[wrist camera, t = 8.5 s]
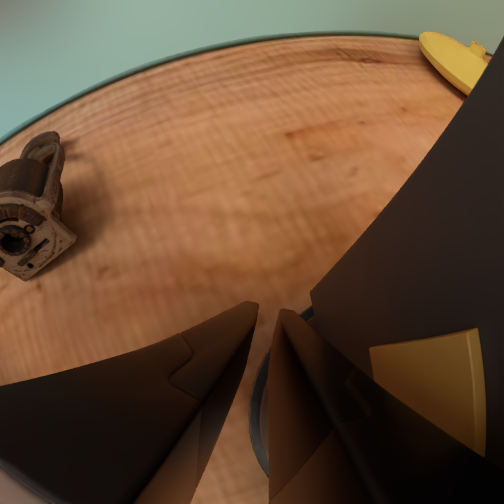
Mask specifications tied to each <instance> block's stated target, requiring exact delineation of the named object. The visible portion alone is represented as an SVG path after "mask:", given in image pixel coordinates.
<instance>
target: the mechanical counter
mask: <svg viewBox="0 0 504 504" xmlns="http://www.w3.org/2000/svg"><path fill="white" fill-rule="evenodd" d="M59 140H60V137H59V134H58V133H57V132H55V131H48V132H45V133H42V134H39V135H38V136H36V137H34V138H33V139H32V140H31V141H30V142H29V143H28V144H27V145H26V146H25V148H24V150H23V151H22V154H21V156H20V159H15V160H12V161H9V162H7V163H5V164H4V165H2V166H1V167H0V267H2V268H4V269H5V270H7V271H8V272H10V273H12V274H13V275H15V276H17V277H18V278H20V279H22V280H23V281H27V280H28V279H30V278H31V277H32V276H33V275H34V274H36V273H37V272H38V271H39V270H40V269H42V268H43V267H44V266H45V265H47V264H48V263H49V262H50V261H52V260H53V259H54V258H55V257H57V256H58V255H59V254H61V253H62V252H63V251H64V250H66V249H67V248H68V247H69V246H71V245H72V244H73V243H74V242H75V240H76V238H77V237H76V234H75V233H74V232H72V231H70V230H69V229H68V228H67V227H66V226H65V225H64V224H63V223H62V222H60V217H61V210H62V203H63V189H62V185H61V182H60V178H61V173H62V170H63V166H64V161H65V154H64V150H63V148H62V147H61V146H60V145H59ZM53 154H54V155H53ZM52 156H53V159H52V162H51V164H50V167H49V166H47V165H46V164H45V163H46V162H47V161H49V160H50V158H51V157H52Z"/></svg>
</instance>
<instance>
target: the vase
mask: <svg viewBox="0 0 504 504" xmlns="http://www.w3.org/2000/svg"><path fill="white" fill-rule="evenodd" d="M419 45H420V49H421V51H422V52H423V54H424V55H425V56H426V58H427V59H428V60H429V61H430V62H431V64H432V65H433V66H434V67H435V68H436V69H437V71H438V72H439V73H440V74H441V75H442V76H443V77H444V78H445V79H446V80H448V81H449V82H450V83H451V84H452V85H454V86H455V87H456V88H457V89H459V90H460V91H461V92H463V93H464V94H466V95H467V96H468V95H469V94H470V92H471V90H472V89H473V87H474V86H475V84H476V83H477V81H478V79H479V78H480V76H481V75H482V73H483V71H484V70H485V68H486V66H487V65H488V63H487V62H486V61H485V60H484V59H483V57H484V55H485V53H486V50H485V48H484V47H483V46H481V45H480V44H479V43H477V42H476V41H472V43H471V45H470V46H469V47H467V46H465V45H463V44H461V43H460V42H458V41H456V40H454V39H452V38H450V37H448V36H446V35H443V34H440V33H437V32H425V33H422V34H421V35H420V36H419Z"/></svg>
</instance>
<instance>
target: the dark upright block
mask: <svg viewBox="0 0 504 504" xmlns="http://www.w3.org/2000/svg"><path fill="white" fill-rule="evenodd" d="M310 297H311V302H312V307H313V312H314V316H313V317H312V318H311V319H309V320H308V321H307V323H308V324H309V325H310V326H312V327H313V328H314V329H315V330H316V331H317V332H318V333H319V334H321V335H322V336H323V337H324V338H325V339H326V340H327V341H328V342H330V343H331V344H332V345H333V346H334V347H335V348H336V349H337V350H339V351H340V352H341V353H342V354H343V355H344V356H345V357H346V358H348V359H349V360H350V361H351V362H352V363H353V364H354V365H356V367H359V368H360V369H361V370H362V371H363V372H364V373H365V374H367V375H368V376H369V377H370V378H371V379H373V380H374V381H375V382H376V383H377V384H379V385H380V386H381V387H383V388H384V389H385V390H387V391H388V392H389V393H391V394H392V395H393V396H395V397H396V398H397V399H399V400H400V401H402V402H403V403H404V404H406V405H407V406H409V407H410V408H412V409H413V410H414V411H416V412H417V413H419V414H420V415H422V416H423V417H424V418H426V419H427V420H429V421H430V422H432V423H433V424H434V425H436V426H437V427H439V428H440V429H442V430H443V431H445V432H446V433H448V434H449V435H451V436H452V437H454V438H455V439H457V440H458V441H460V442H461V443H463V444H464V445H466V446H467V447H469V448H470V449H472V450H473V451H475V452H476V453H478V454H479V455H481V456H482V457H484V458H485V459H487V460H488V461H490V462H492V463H493V464H495V465H496V466H498V467H499V468H501V469H503V470H504V37H503V39H502V41H501V42H500V44H499V46H498V48H497V50H496V51H495V53H494V55H493V56H492V58H491V60H490V61H489V63H488V65H487V66H486V68H485V70H484V71H483V73H482V75H481V76H480V78H479V79H478V81H477V83H476V84H475V86H474V87H473V89H472V90H471V92H470V94H469V95H468V97H467V98H466V100H465V101H464V103H463V104H462V106H461V107H460V109H459V110H458V112H457V113H456V114H455V116H454V117H453V119H452V120H451V122H450V123H449V125H448V126H447V127H446V129H445V130H444V132H443V133H442V134H441V136H440V137H439V139H438V140H437V141H436V143H435V144H434V145H433V147H432V148H431V149H430V151H429V152H428V153H427V155H426V156H425V157H424V159H423V160H422V161H421V163H420V164H419V165H418V167H417V168H416V169H415V171H414V172H413V173H412V174H411V176H410V177H409V178H408V180H407V181H406V182H405V183H404V185H403V186H402V187H401V188H400V190H399V191H398V192H397V193H396V195H395V196H394V197H393V198H392V200H391V201H390V202H389V203H388V204H387V206H386V207H385V208H384V209H383V210H382V212H381V213H380V214H379V215H378V216H377V218H376V219H375V220H374V221H373V222H372V224H371V225H370V226H369V227H368V228H367V229H366V231H365V232H364V233H363V234H362V235H361V236H360V237H359V239H358V240H357V241H356V242H355V243H354V244H353V245H352V247H351V248H350V249H349V250H348V251H347V252H346V253H345V254H344V256H343V257H342V258H341V259H340V260H339V261H338V262H337V263H336V264H335V265H334V267H333V268H332V269H331V270H330V271H329V272H328V273H327V274H326V275H325V276H324V277H323V278H322V280H321V281H320V282H319V283H318V284H317V285H316V286H315V287H314V288H313V289H312V290H311V291H310ZM259 427H260V438H261V443H262V447H263V451H264V455H265V457H266V459H267V462H268V464H269V425H268V378H267V381H266V384H265V387H264V390H263V394H262V399H261V404H260V415H259Z"/></svg>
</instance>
